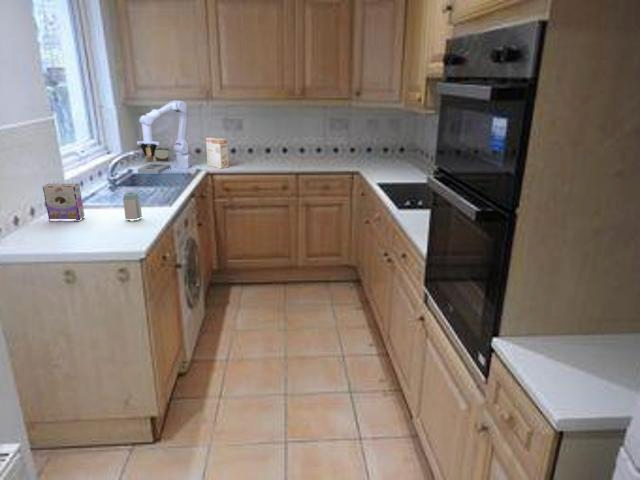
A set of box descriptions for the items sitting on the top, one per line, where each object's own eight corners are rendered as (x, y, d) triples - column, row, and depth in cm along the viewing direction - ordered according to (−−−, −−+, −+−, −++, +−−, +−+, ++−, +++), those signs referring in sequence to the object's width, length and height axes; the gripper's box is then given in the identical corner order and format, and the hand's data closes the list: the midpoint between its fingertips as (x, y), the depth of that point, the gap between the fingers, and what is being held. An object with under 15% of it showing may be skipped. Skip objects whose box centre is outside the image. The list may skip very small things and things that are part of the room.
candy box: (85, 218, 223) (80, 182, 217) (80, 222, 217) (74, 186, 212) (54, 218, 222) (48, 182, 217) (48, 221, 217) (41, 185, 211)
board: (170, 168, 330) (170, 164, 329) (158, 173, 314) (157, 169, 313) (151, 167, 332) (150, 163, 331) (138, 172, 315) (137, 169, 315)
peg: (154, 160, 318) (153, 147, 315) (151, 161, 314) (150, 148, 311) (148, 160, 319) (147, 146, 316) (145, 161, 315) (144, 147, 312)
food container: (173, 160, 357) (172, 146, 354) (170, 162, 351) (169, 148, 348) (157, 160, 358) (156, 146, 355) (154, 161, 353) (152, 147, 349)
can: (122, 220, 220) (119, 194, 216) (135, 216, 226) (132, 191, 222) (132, 223, 217) (129, 196, 213) (145, 219, 222) (142, 193, 218)
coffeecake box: (229, 167, 337) (227, 138, 330) (221, 168, 331) (219, 139, 325) (215, 164, 346) (213, 136, 339) (207, 165, 340) (205, 137, 334)
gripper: (133, 135, 308) (136, 156, 313) (155, 136, 306) (157, 157, 311) (139, 133, 315) (141, 154, 319) (160, 134, 313) (162, 155, 317)
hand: (149, 156), depth 315 cm, fingers closed on peg, 4 cm apart
